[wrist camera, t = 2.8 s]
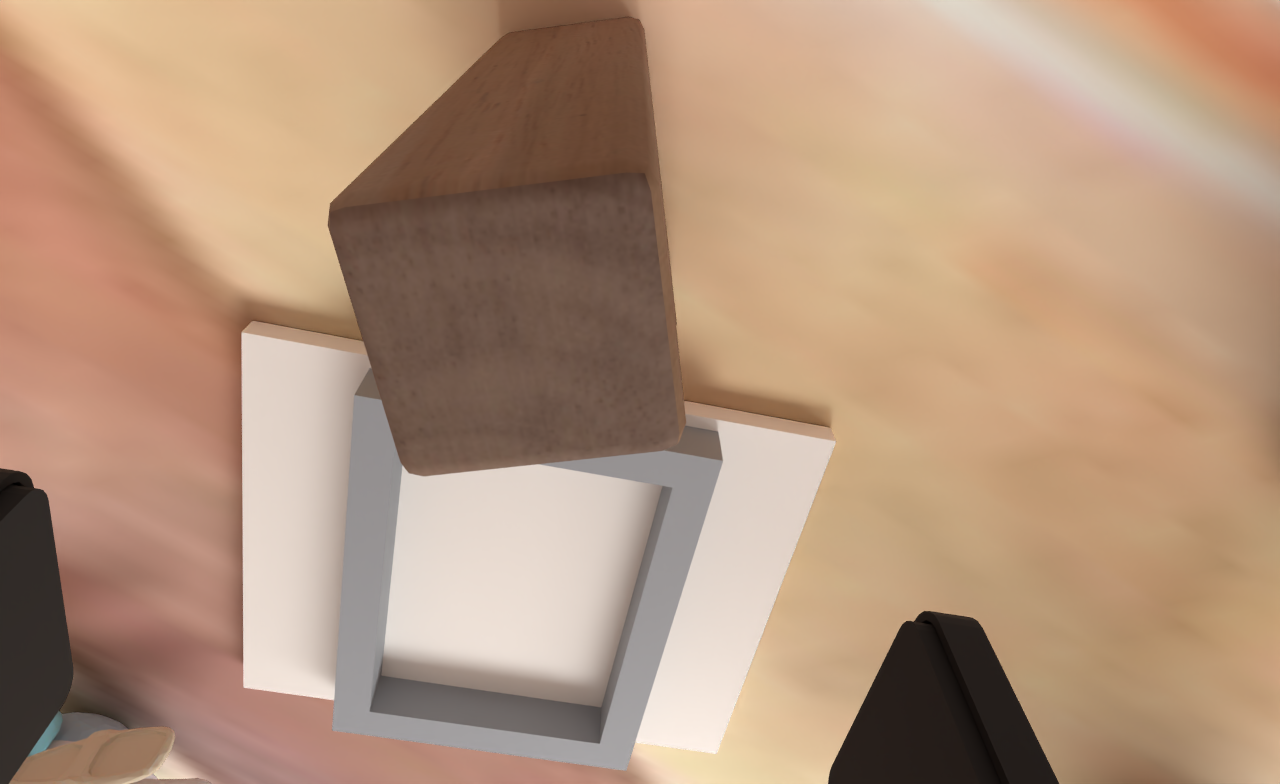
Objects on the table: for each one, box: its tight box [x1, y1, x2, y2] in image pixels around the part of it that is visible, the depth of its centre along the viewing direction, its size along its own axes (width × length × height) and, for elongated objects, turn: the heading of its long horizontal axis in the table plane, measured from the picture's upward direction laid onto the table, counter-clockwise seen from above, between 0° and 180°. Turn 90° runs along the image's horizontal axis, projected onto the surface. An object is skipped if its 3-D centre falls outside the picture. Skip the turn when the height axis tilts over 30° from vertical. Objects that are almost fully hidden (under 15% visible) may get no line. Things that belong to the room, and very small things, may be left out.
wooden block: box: [328, 17, 686, 476], centre depth 21 cm, size 9×4×18 cm, turn 7°
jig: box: [242, 321, 836, 771], centre depth 36 cm, size 22×18×3 cm
